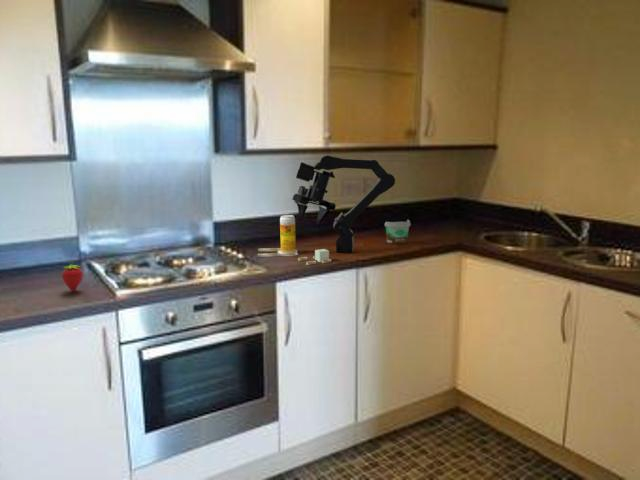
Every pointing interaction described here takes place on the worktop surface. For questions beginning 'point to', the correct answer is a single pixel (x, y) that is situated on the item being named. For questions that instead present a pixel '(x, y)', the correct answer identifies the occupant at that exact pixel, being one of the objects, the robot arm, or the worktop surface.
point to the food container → (397, 232)
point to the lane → (274, 253)
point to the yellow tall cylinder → (287, 234)
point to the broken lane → (313, 261)
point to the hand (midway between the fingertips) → (308, 222)
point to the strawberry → (72, 276)
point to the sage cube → (321, 255)
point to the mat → (294, 252)
